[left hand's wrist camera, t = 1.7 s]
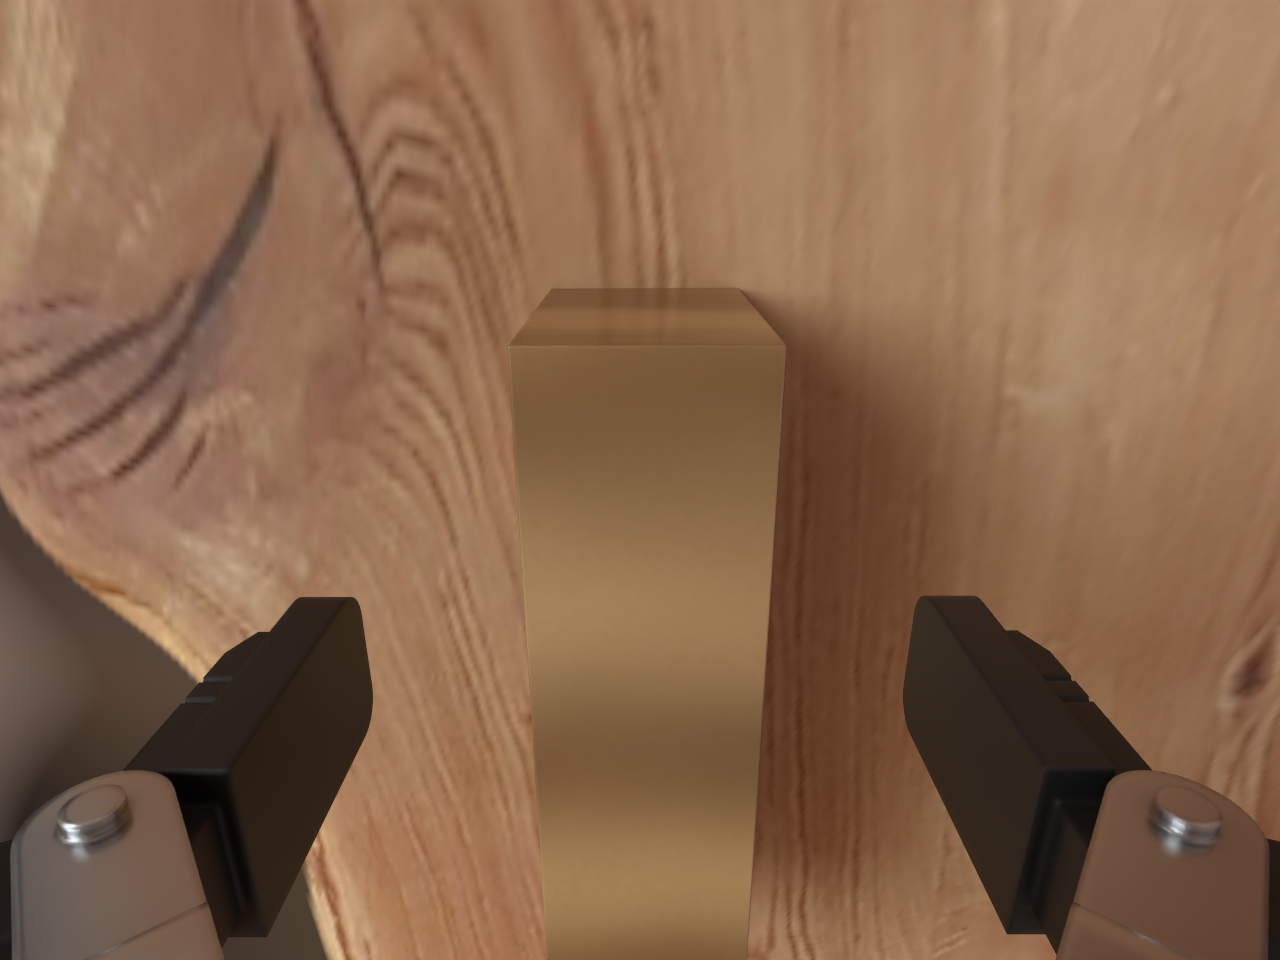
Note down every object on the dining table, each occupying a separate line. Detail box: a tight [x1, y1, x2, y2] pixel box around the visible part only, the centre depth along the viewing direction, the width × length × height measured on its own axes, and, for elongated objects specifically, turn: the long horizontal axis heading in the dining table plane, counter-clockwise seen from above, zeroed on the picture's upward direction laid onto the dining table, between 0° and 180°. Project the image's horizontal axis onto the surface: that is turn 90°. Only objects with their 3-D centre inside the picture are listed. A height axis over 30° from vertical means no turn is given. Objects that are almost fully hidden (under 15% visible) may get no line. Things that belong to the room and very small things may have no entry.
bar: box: [508, 288, 787, 960], centre depth 25 cm, size 22×6×9 cm, turn 0°
